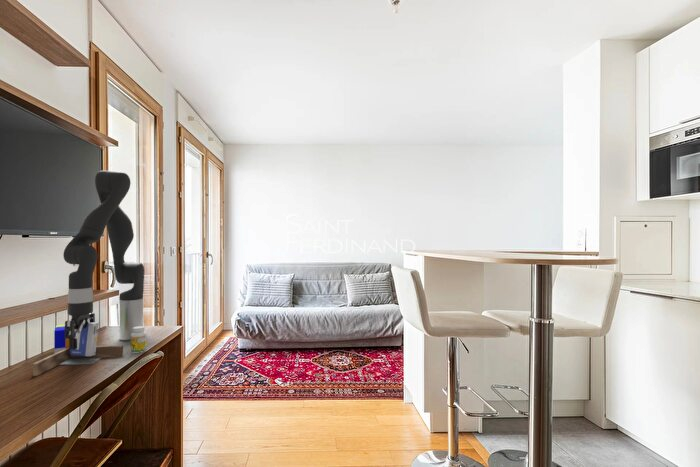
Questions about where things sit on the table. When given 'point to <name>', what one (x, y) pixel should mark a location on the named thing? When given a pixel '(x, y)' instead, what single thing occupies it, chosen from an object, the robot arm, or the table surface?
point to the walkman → (87, 340)
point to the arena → (65, 358)
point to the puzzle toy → (60, 339)
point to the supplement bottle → (138, 340)
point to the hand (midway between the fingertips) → (80, 345)
